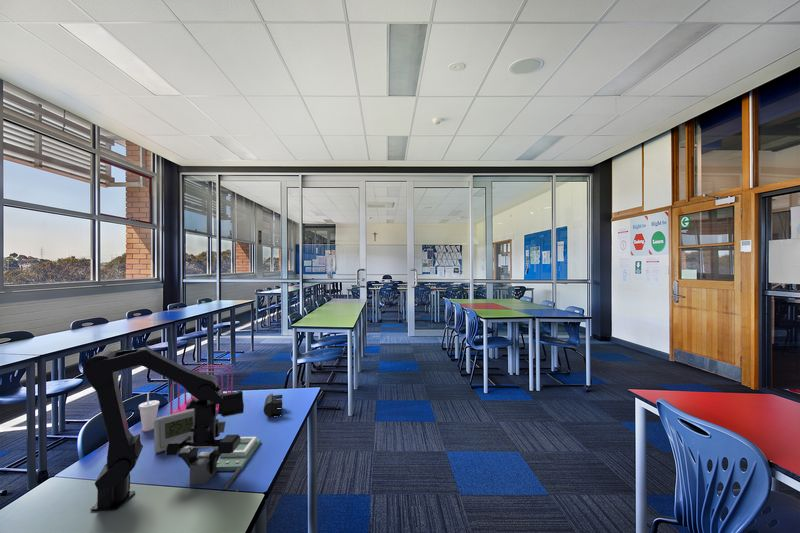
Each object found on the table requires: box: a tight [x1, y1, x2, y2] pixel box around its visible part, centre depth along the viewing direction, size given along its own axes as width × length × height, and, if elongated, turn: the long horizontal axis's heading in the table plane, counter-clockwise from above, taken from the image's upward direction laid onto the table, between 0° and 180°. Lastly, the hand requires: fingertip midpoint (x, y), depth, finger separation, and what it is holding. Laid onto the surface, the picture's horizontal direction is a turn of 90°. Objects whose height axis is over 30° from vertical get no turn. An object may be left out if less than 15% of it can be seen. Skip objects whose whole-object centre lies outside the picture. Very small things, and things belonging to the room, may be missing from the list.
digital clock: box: [153, 408, 194, 454], centre depth 113 cm, size 16×9×11 cm, turn 123°
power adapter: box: [263, 393, 283, 418], centre depth 137 cm, size 10×7×7 cm
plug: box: [189, 451, 218, 486], centre depth 94 cm, size 6×4×6 cm
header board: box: [211, 436, 262, 472], centre depth 105 cm, size 16×13×3 cm
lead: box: [223, 467, 242, 490], centre depth 94 cm, size 12×1×1 cm, turn 4°
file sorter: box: [169, 364, 235, 414], centre depth 144 cm, size 17×25×16 cm
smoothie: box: [138, 392, 160, 432], centre depth 122 cm, size 6×6×14 cm
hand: (203, 473), depth 94 cm, fingers closed on plug, 4 cm apart
